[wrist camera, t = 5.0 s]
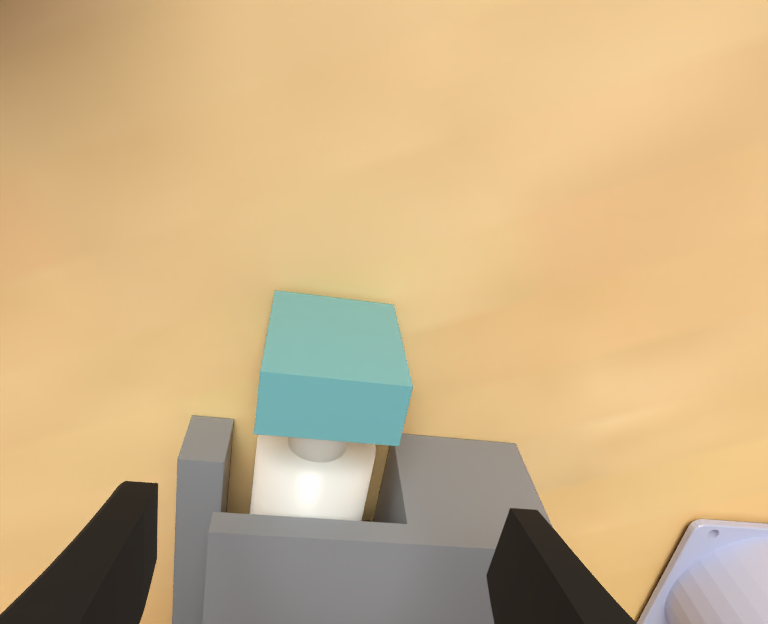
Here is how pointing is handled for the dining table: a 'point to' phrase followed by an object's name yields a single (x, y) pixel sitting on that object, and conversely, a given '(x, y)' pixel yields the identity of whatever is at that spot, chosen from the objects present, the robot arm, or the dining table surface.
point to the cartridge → (326, 404)
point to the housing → (347, 539)
